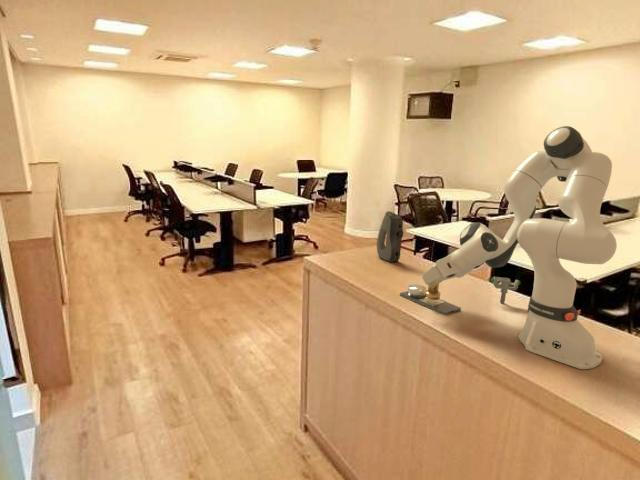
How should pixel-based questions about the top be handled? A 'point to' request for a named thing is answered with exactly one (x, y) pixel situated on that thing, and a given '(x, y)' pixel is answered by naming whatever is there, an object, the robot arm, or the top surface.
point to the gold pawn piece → (433, 292)
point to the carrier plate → (428, 300)
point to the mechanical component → (504, 286)
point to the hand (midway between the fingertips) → (432, 282)
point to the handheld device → (390, 237)
